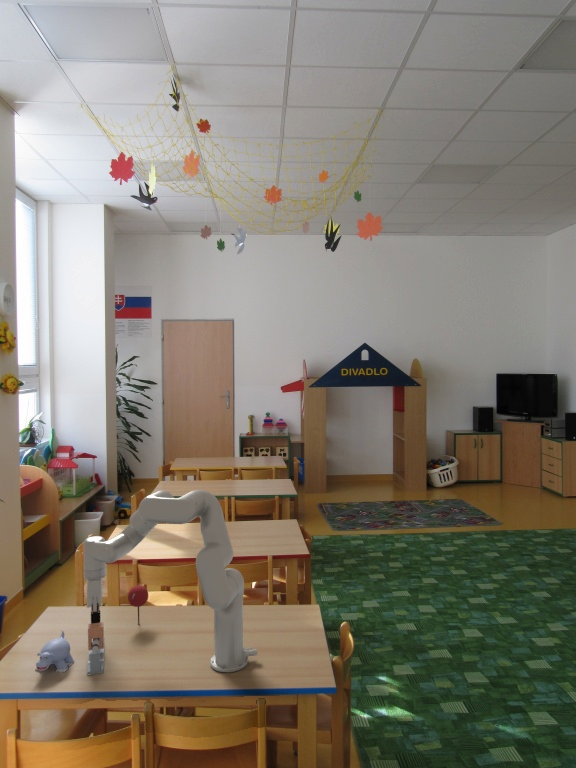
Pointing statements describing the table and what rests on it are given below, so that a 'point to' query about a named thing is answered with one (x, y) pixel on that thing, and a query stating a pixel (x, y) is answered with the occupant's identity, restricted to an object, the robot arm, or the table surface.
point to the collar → (95, 634)
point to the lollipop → (138, 597)
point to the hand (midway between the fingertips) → (95, 622)
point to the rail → (95, 658)
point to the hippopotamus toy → (55, 655)
